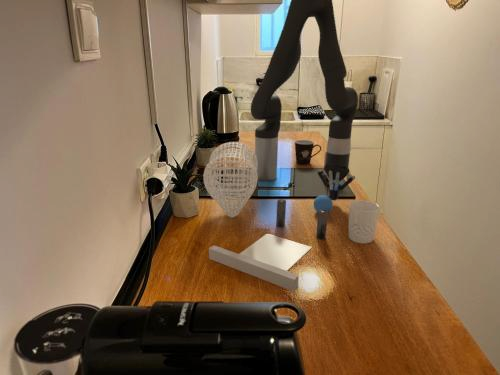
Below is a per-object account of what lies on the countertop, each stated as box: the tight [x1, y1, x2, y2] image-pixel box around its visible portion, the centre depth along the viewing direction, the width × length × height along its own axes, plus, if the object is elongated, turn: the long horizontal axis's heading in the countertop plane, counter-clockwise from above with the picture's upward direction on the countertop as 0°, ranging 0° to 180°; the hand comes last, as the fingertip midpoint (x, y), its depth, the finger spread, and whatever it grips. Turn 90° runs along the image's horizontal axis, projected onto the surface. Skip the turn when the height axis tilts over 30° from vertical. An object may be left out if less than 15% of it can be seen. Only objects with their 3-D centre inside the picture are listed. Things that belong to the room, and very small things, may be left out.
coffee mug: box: [294, 139, 322, 166], centre depth 174 cm, size 12×9×10 cm
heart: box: [202, 141, 258, 218], centre depth 116 cm, size 28×16×22 cm, turn 179°
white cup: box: [347, 199, 381, 245], centre depth 105 cm, size 8×8×10 cm
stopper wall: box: [208, 245, 300, 292], centre depth 90 cm, size 24×2×3 cm, turn 56°
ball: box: [313, 194, 333, 213], centre depth 122 cm, size 6×6×6 cm
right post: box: [315, 210, 329, 240], centre depth 106 cm, size 3×3×8 cm
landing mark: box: [239, 233, 313, 272], centre depth 100 cm, size 14×14×1 cm
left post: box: [275, 198, 287, 229], centre depth 113 cm, size 3×3×8 cm
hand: (333, 199), depth 130 cm, fingers closed
